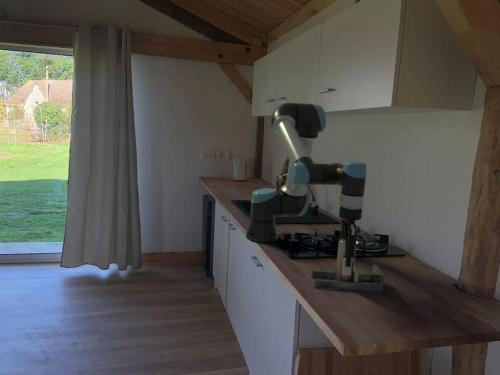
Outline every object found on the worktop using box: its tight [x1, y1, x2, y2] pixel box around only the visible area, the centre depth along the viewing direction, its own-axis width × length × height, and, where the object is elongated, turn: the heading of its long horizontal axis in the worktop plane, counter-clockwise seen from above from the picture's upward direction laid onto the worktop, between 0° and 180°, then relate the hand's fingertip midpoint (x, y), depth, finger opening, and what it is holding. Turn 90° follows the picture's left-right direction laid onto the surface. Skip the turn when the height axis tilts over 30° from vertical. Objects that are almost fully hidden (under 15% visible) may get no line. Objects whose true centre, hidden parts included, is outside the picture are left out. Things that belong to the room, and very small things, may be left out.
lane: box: [310, 264, 386, 293], centre depth 141 cm, size 10×23×6 cm, turn 89°
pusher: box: [352, 267, 364, 282], centre depth 141 cm, size 7×3×5 cm, turn 179°
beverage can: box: [334, 238, 357, 282], centre depth 140 cm, size 6×6×15 cm
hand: (344, 271), depth 141 cm, fingers closed on beverage can, 6 cm apart
